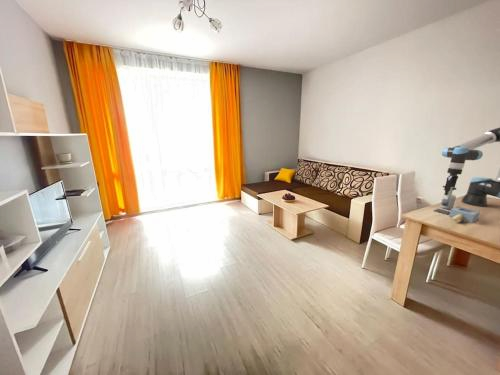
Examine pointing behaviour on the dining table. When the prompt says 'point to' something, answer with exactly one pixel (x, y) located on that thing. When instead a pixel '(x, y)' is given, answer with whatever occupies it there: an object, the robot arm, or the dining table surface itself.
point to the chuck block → (464, 214)
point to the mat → (442, 211)
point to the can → (450, 202)
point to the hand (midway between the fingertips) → (446, 198)
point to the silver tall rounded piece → (446, 201)
